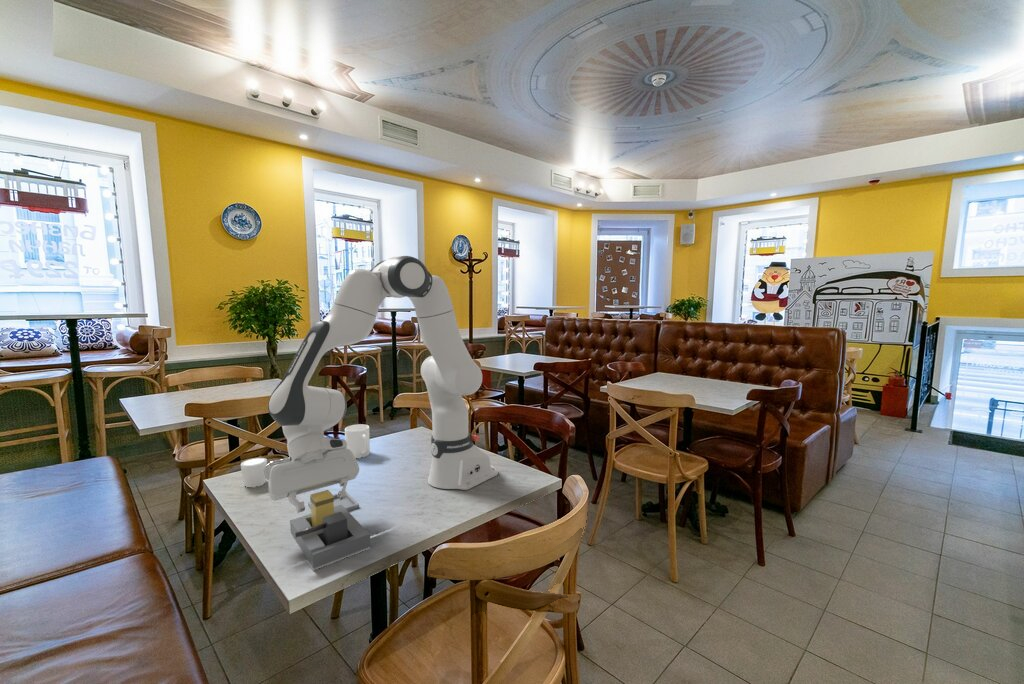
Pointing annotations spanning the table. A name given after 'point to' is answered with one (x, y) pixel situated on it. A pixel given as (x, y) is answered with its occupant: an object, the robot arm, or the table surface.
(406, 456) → the table surface
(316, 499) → the plug
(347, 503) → the tray
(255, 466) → the white cylinder
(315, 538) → the grey socket block
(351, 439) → the cup
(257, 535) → the table surface
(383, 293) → the robot arm
